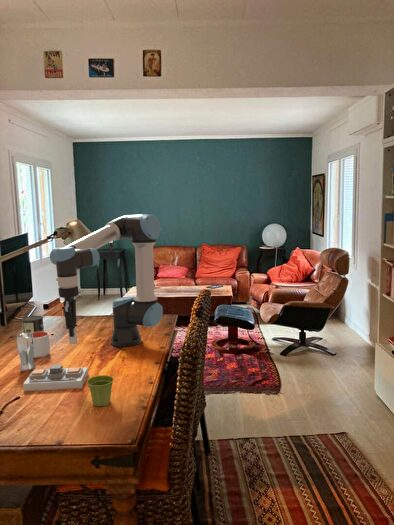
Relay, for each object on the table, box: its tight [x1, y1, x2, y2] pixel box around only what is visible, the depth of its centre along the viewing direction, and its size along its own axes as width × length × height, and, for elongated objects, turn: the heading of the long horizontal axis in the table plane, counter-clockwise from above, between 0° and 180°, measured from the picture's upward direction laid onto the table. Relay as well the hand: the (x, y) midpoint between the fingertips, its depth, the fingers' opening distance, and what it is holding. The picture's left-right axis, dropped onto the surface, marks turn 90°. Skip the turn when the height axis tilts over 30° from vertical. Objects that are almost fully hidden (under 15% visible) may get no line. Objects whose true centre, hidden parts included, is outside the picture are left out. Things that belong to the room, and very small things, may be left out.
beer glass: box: [16, 333, 36, 372], centre depth 195 cm, size 7×7×15 cm
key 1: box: [31, 368, 45, 375], centre depth 179 cm, size 4×4×2 cm
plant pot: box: [86, 374, 115, 407], centre depth 159 cm, size 9×9×9 cm
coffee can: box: [21, 315, 45, 334], centre depth 227 cm, size 10×10×14 cm
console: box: [22, 366, 89, 392], centre depth 179 cm, size 22×14×4 cm, turn 93°
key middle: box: [49, 364, 64, 373], centre depth 179 cm, size 4×4×2 cm
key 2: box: [68, 366, 81, 373], centre depth 180 cm, size 4×4×2 cm
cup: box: [31, 331, 51, 359], centre depth 212 cm, size 10×10×10 cm
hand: (73, 343), depth 180 cm, fingers closed
